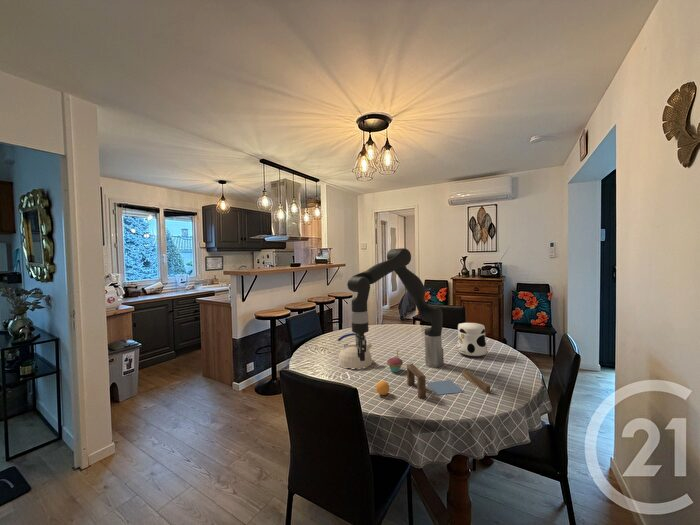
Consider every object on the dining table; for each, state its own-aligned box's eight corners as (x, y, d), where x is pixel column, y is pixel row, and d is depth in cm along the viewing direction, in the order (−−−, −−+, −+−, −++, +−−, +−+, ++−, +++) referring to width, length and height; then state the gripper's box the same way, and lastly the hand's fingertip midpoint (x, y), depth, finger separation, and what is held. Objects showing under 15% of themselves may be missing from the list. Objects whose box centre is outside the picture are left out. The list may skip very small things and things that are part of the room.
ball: (387, 390, 138) (387, 378, 138) (391, 396, 132) (390, 383, 132) (374, 392, 137) (374, 379, 137) (378, 398, 131) (377, 384, 131)
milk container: (451, 352, 188) (450, 324, 188) (472, 348, 194) (471, 321, 194) (471, 360, 172) (470, 330, 172) (493, 356, 178) (493, 326, 178)
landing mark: (450, 380, 147) (450, 379, 147) (464, 391, 134) (464, 391, 134) (425, 383, 145) (425, 382, 145) (437, 395, 132) (437, 394, 132)
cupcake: (401, 367, 166) (400, 346, 165) (404, 373, 157) (403, 351, 157) (386, 368, 165) (385, 346, 165) (388, 374, 157) (387, 351, 157)
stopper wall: (465, 375, 152) (465, 369, 152) (490, 392, 132) (490, 386, 132) (462, 375, 152) (462, 369, 152) (486, 393, 132) (486, 386, 132)
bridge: (413, 383, 145) (412, 363, 144) (426, 397, 130) (425, 375, 130) (407, 384, 144) (406, 364, 144) (419, 398, 129) (418, 376, 129)
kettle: (370, 370, 163) (369, 338, 163) (334, 369, 167) (332, 337, 167) (374, 358, 183) (373, 329, 182) (342, 356, 187) (341, 328, 187)
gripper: (371, 323, 126) (373, 363, 126) (364, 317, 140) (365, 353, 140) (354, 325, 124) (355, 365, 125) (349, 318, 139) (350, 354, 139)
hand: (361, 358), depth 132 cm, fingers open, 4 cm apart
